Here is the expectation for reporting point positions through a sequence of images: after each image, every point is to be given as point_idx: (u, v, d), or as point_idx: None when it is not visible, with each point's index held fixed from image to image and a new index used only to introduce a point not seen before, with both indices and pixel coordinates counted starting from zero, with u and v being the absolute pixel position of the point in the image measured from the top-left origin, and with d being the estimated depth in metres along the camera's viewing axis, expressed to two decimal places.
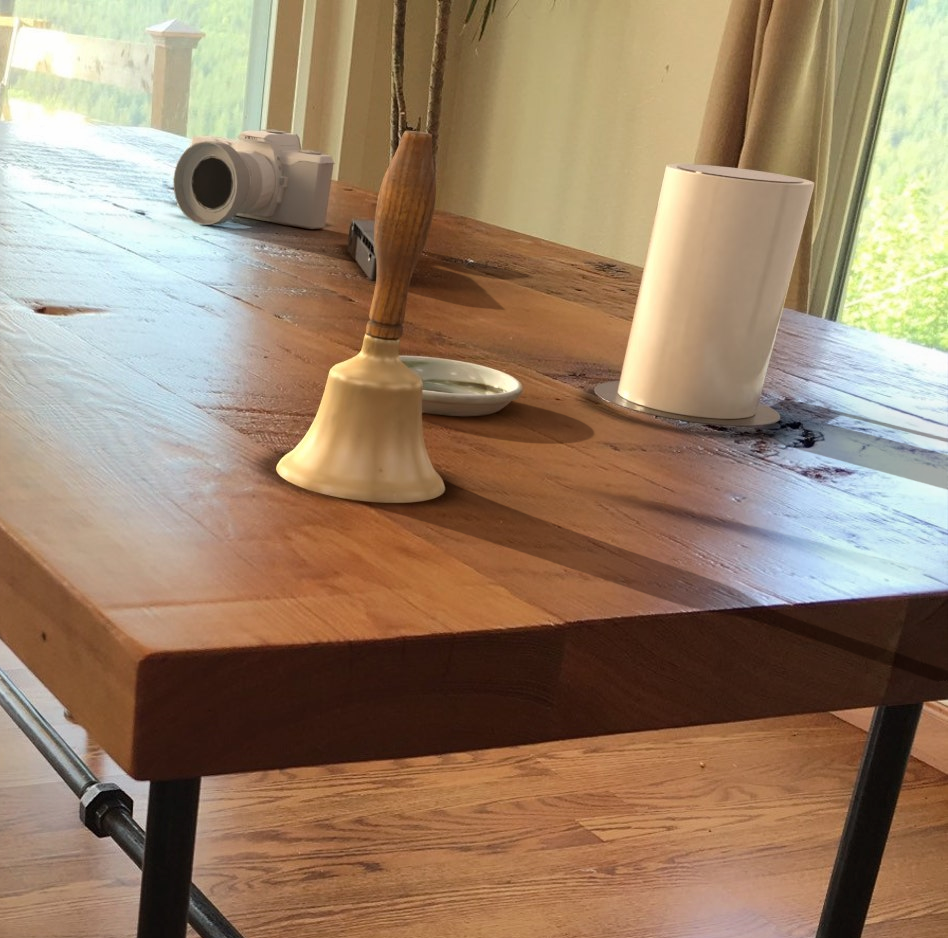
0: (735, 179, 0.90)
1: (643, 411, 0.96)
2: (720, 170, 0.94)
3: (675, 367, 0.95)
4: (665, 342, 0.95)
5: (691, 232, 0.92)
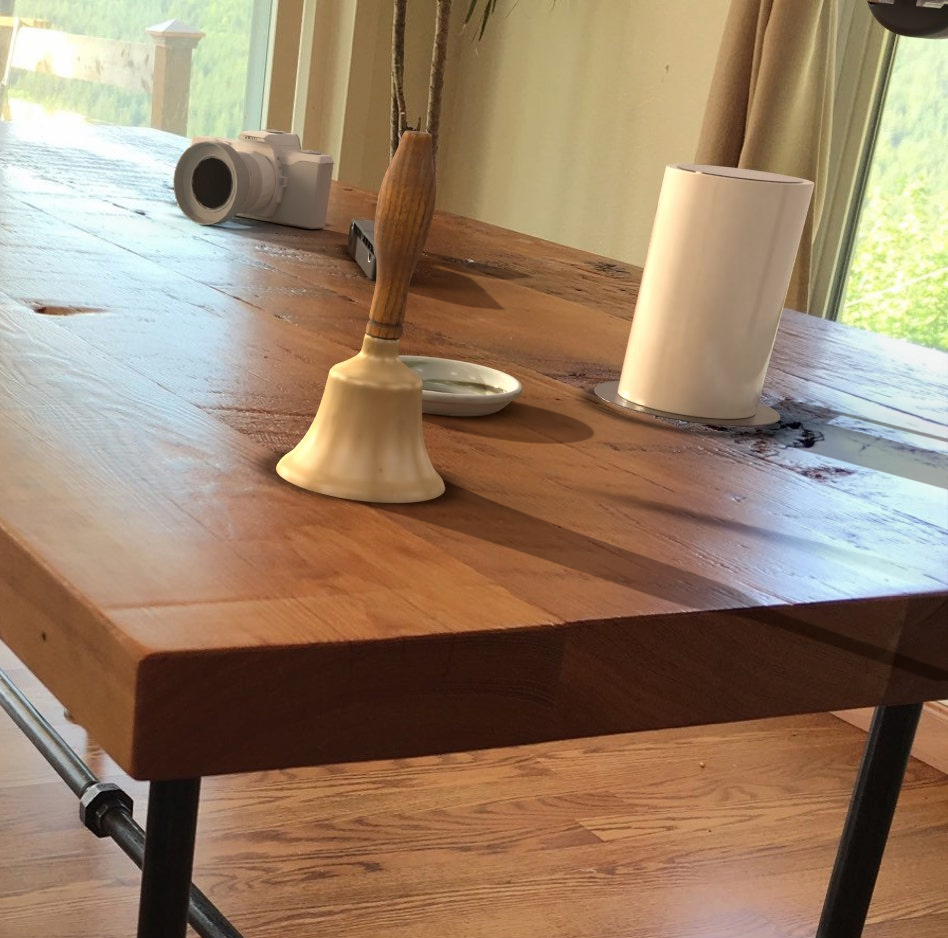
0: (735, 179, 0.90)
1: (643, 411, 0.96)
2: (720, 170, 0.94)
3: (675, 367, 0.95)
4: (665, 342, 0.95)
5: (691, 232, 0.92)
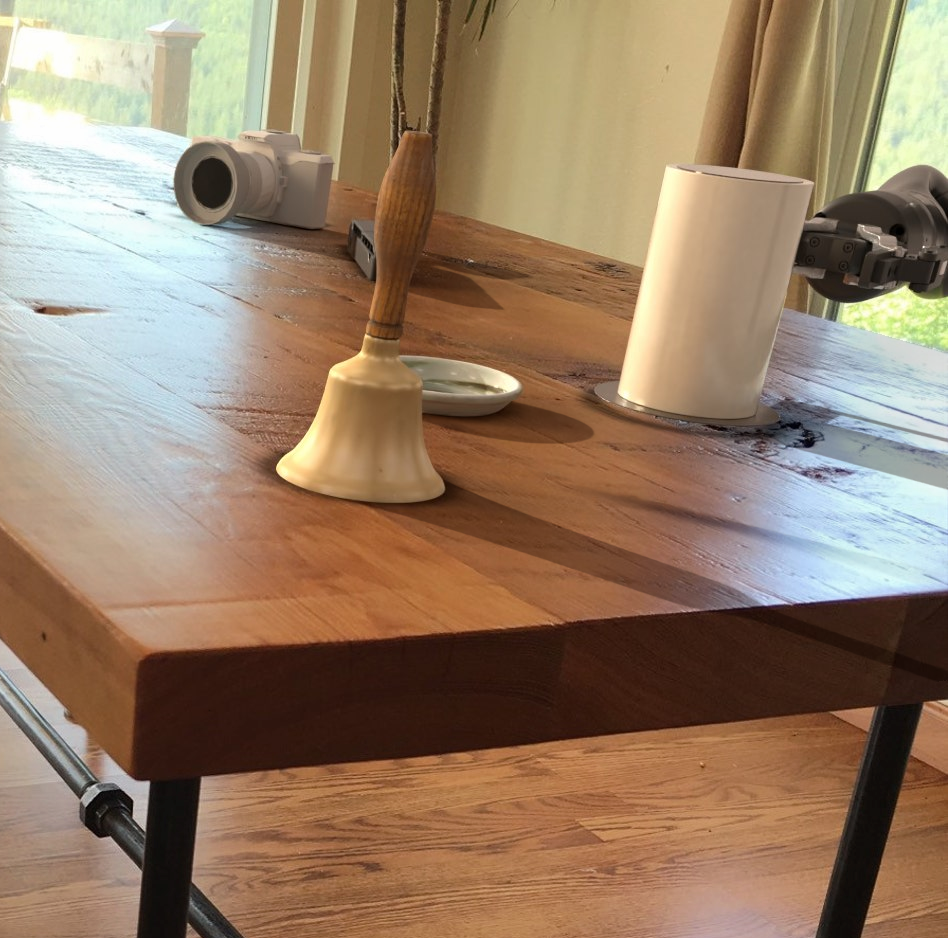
0: (735, 179, 0.90)
1: (643, 411, 0.96)
2: (720, 170, 0.94)
3: (675, 367, 0.95)
4: (665, 342, 0.95)
5: (691, 232, 0.92)
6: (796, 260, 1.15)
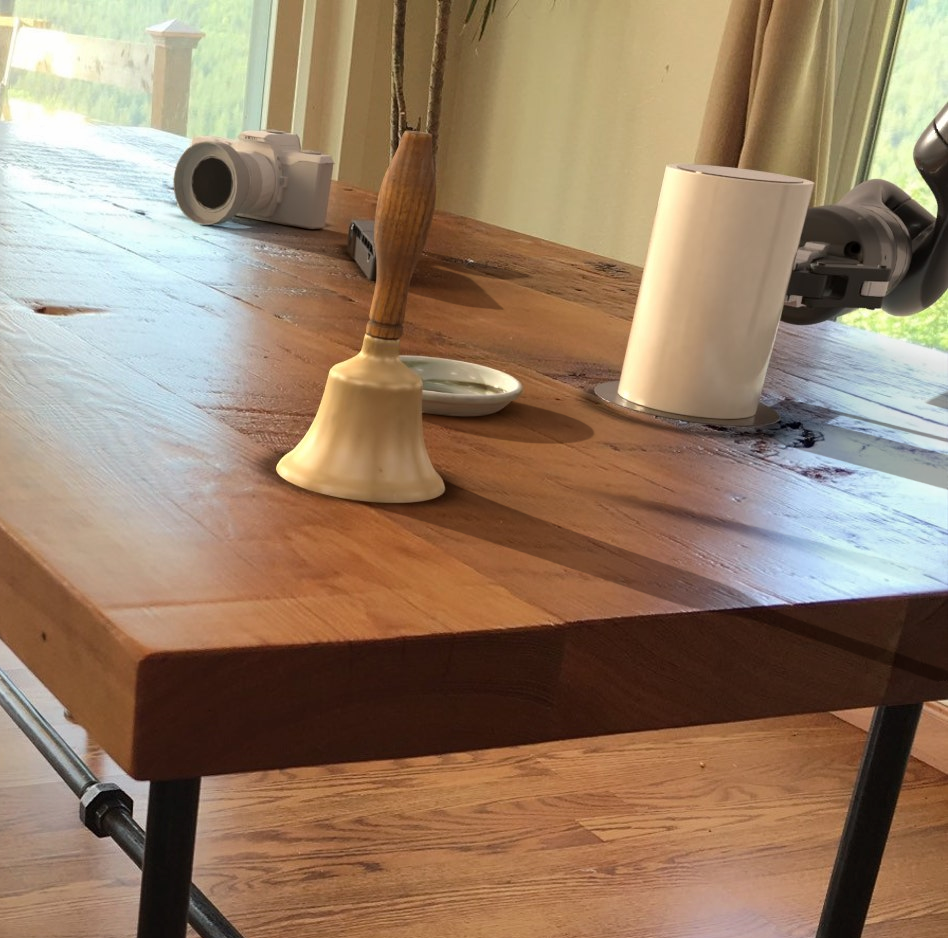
0: (735, 179, 0.90)
1: (643, 411, 0.96)
2: (720, 170, 0.94)
3: (675, 367, 0.95)
4: (665, 342, 0.95)
5: (691, 232, 0.92)
6: None
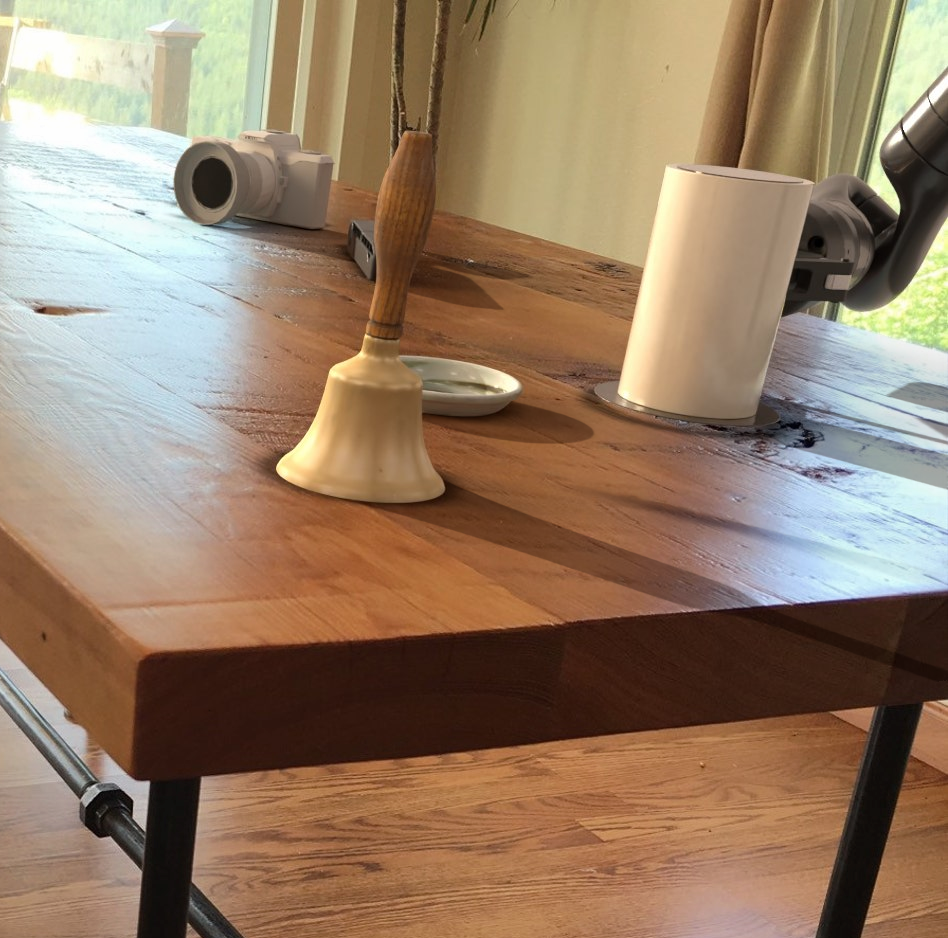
0: (756, 181, 0.90)
1: (643, 411, 0.96)
2: (720, 170, 0.94)
3: (695, 370, 0.95)
4: (684, 346, 0.95)
5: (710, 235, 0.92)
6: None
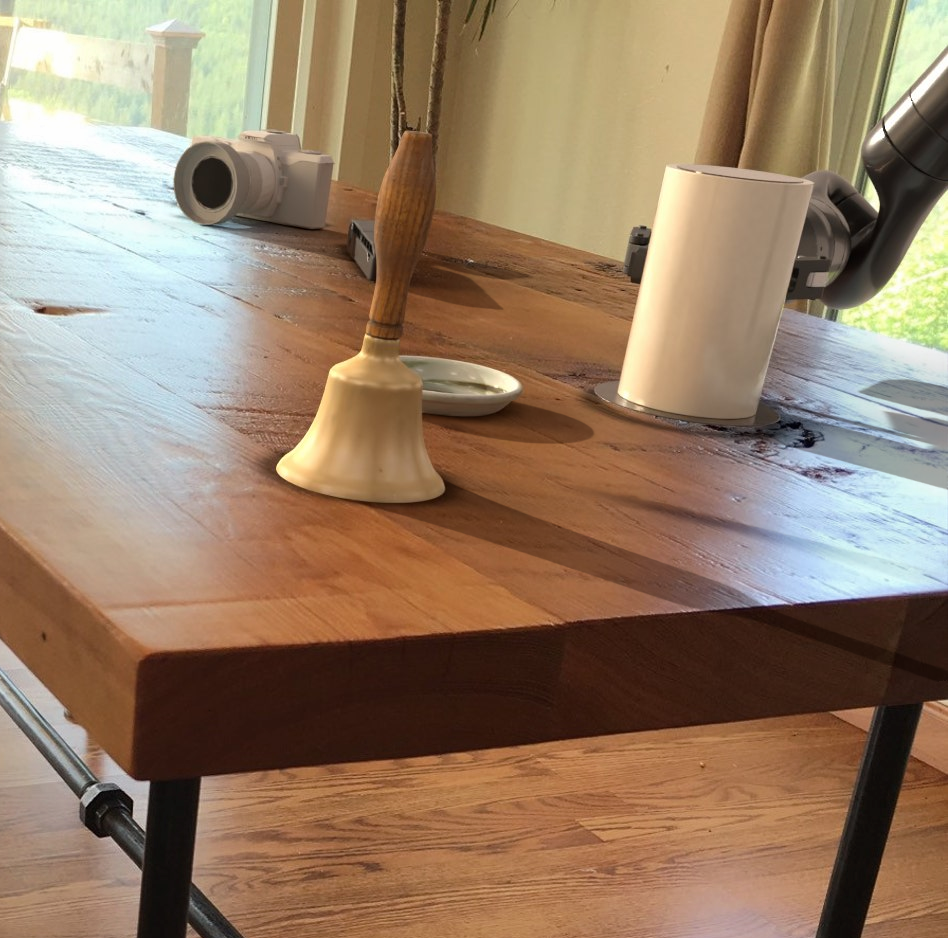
0: (772, 183, 0.90)
1: (643, 411, 0.96)
2: (721, 171, 0.94)
3: (712, 372, 0.95)
4: (701, 349, 0.94)
5: (727, 237, 0.91)
6: None
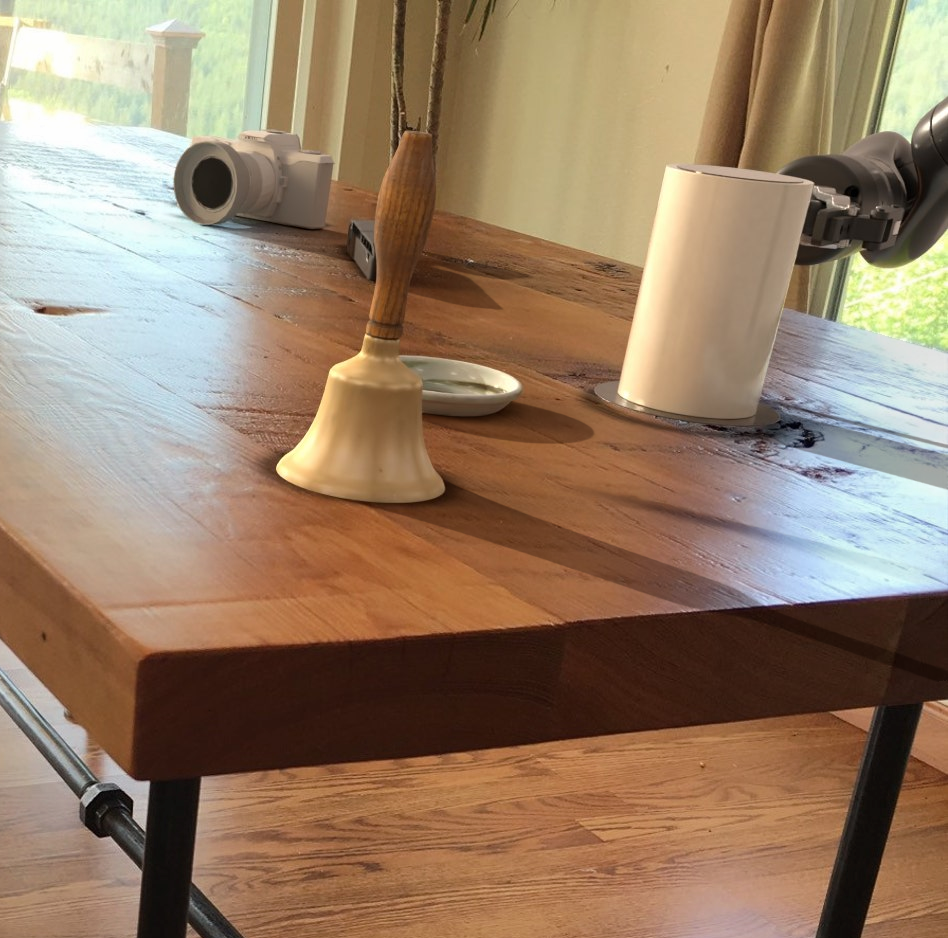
0: (772, 183, 0.90)
1: (643, 411, 0.96)
2: (721, 171, 0.94)
3: (712, 372, 0.95)
4: (701, 349, 0.94)
5: (728, 237, 0.91)
6: None
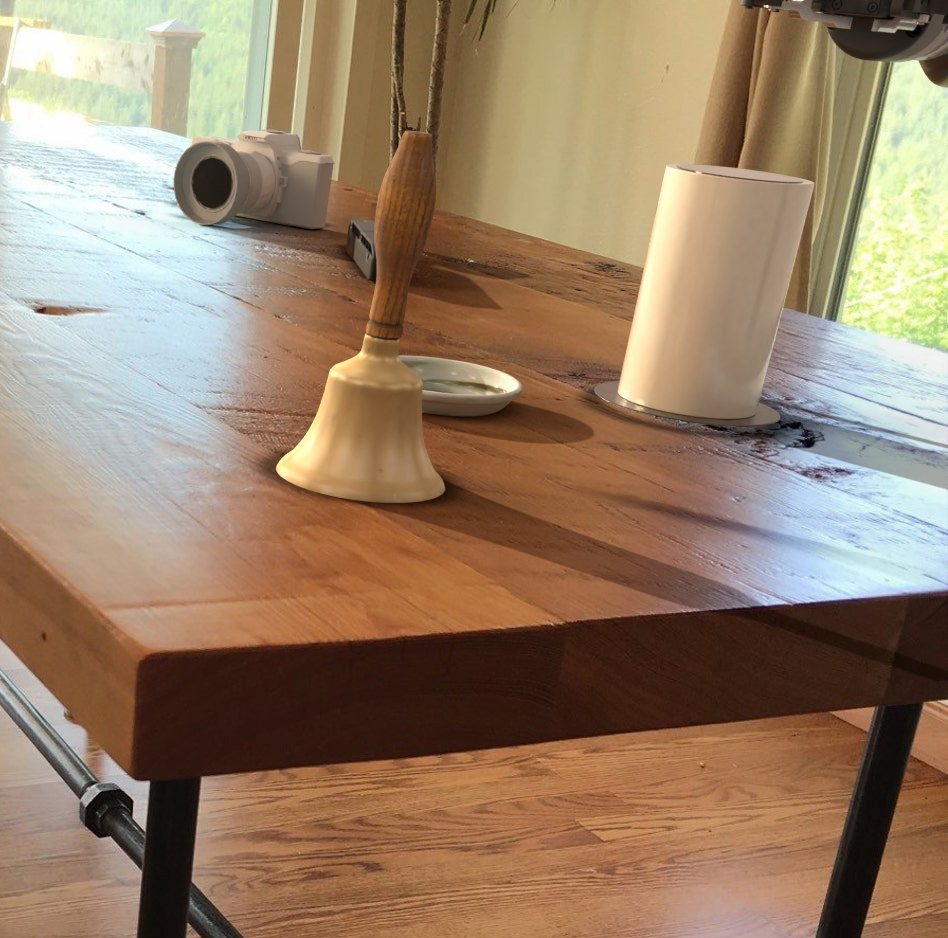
0: (772, 183, 0.90)
1: (643, 411, 0.96)
2: (721, 171, 0.94)
3: (712, 372, 0.95)
4: (701, 349, 0.94)
5: (728, 237, 0.91)
6: (822, 6, 1.09)
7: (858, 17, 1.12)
